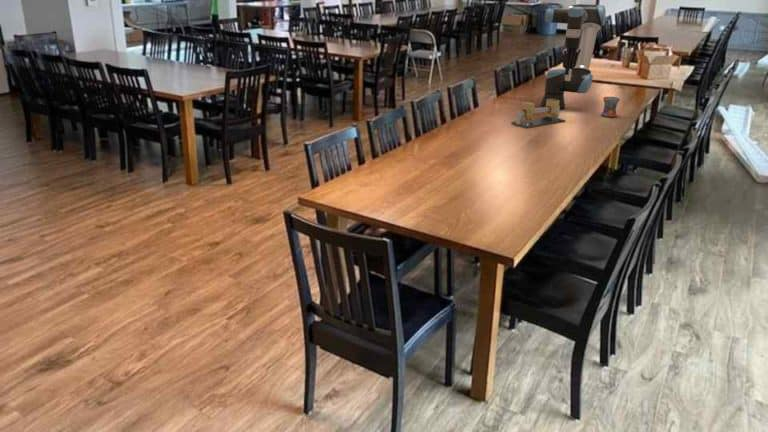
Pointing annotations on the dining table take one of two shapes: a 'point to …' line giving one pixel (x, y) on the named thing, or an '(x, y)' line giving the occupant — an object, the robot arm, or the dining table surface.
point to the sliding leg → (552, 107)
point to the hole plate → (539, 122)
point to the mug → (610, 106)
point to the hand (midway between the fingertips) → (567, 80)
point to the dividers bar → (531, 112)
